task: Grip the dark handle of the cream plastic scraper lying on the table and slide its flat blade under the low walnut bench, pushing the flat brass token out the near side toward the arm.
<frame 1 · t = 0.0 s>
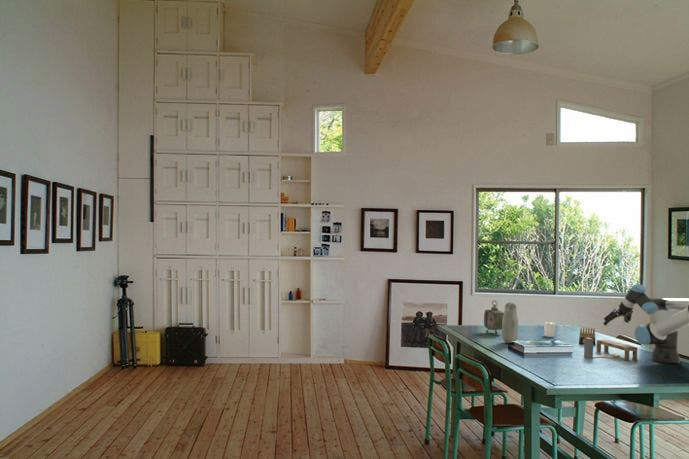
hand: (611, 327, 340), 15 cm above the table, tool tilted 35°, fingers open, 13 cm apart
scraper: (588, 357, 319), on the table
beige vase: (509, 343, 355), on the table
low bench: (616, 356, 325), on the table
tabletop clock: (494, 334, 389), on the table
ammunition clip: (587, 344, 360), on the table
brass token: (616, 356, 325), on the table
white cup: (549, 336, 387), on the table
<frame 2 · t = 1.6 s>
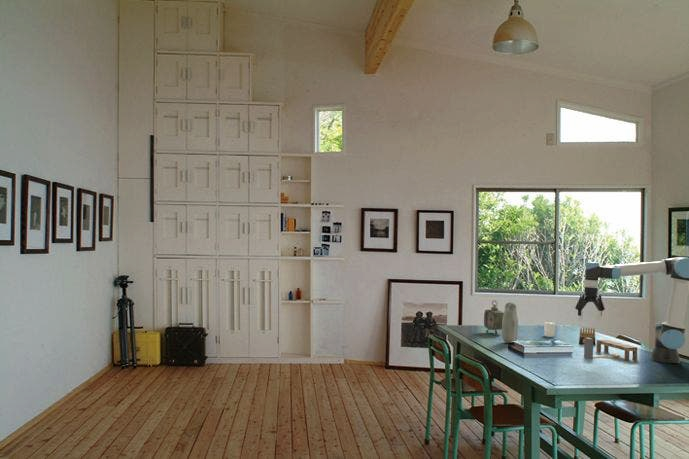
hand: (589, 321, 320), 22 cm above the table, tool pointing down, fingers open, 13 cm apart
nothing on the table moved.
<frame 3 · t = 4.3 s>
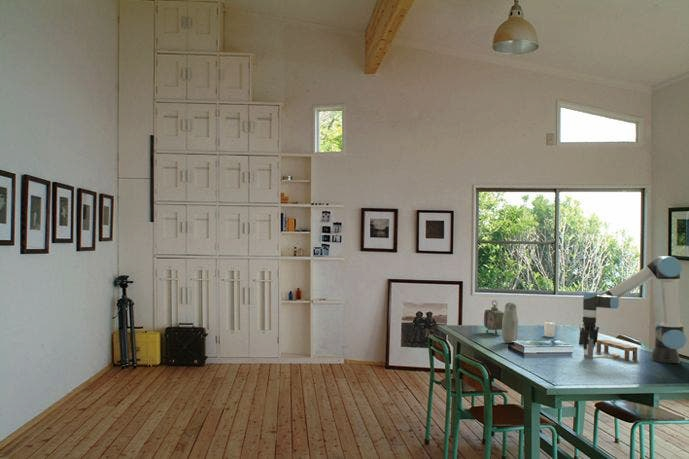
hand: (588, 354, 319), 2 cm above the table, tool pointing down, fingers closed on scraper, 3 cm apart
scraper: (588, 357, 319), on the table, touching gripper
everything else where it was.
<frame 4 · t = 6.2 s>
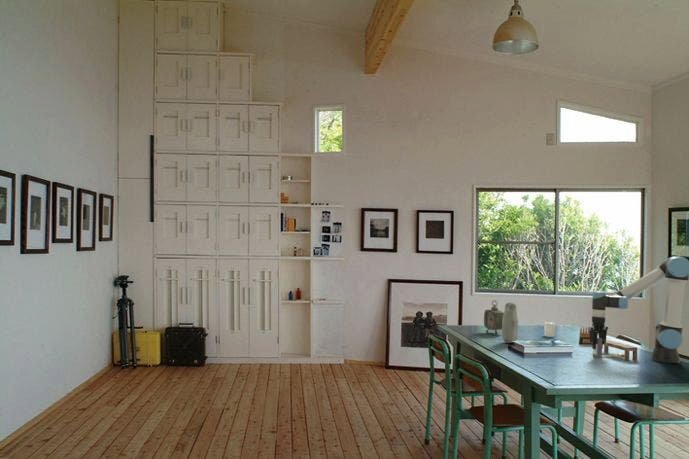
hand: (597, 353, 321), 2 cm above the table, tool pointing down, fingers closed on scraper, 3 cm apart
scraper: (597, 357, 321), on the table, touching gripper
brass token: (620, 356, 326), on the table
everything else where it was.
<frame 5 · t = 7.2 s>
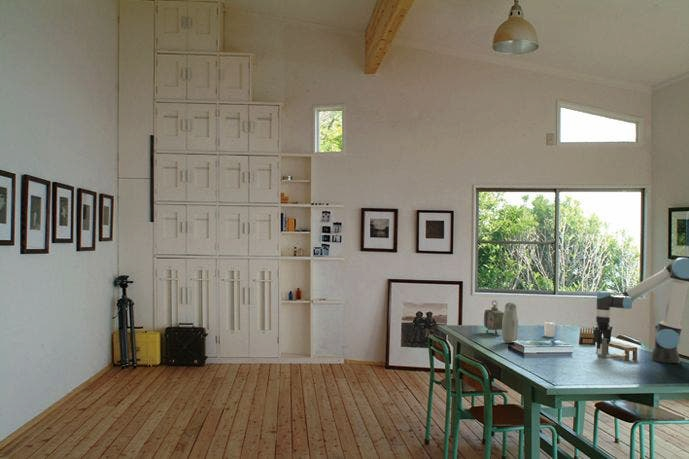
hand: (602, 353, 322), 2 cm above the table, tool pointing down, fingers closed on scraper, 3 cm apart
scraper: (601, 357, 322), on the table, touching gripper
brass token: (625, 356, 327), on the table
everything else where it was.
when the fingers open (2 cm above the table, at t = 8.1 s): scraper stays where it is, on the table.
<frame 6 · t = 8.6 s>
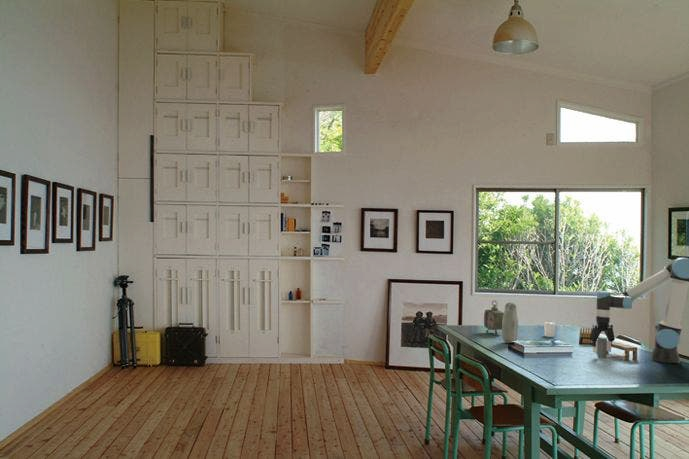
hand: (601, 351, 322), 3 cm above the table, tool pointing down, fingers open, 10 cm apart
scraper: (601, 357, 322), on the table
everything else where it was.
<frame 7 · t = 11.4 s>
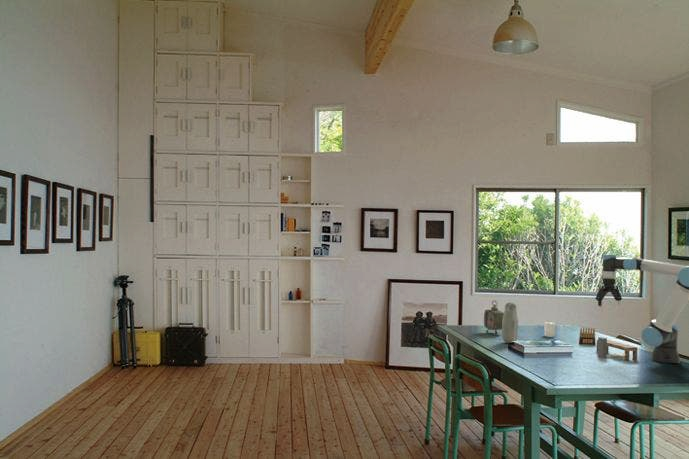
hand: (608, 310, 333), 27 cm above the table, tool pointing down, fingers open, 13 cm apart
nothing on the table moved.
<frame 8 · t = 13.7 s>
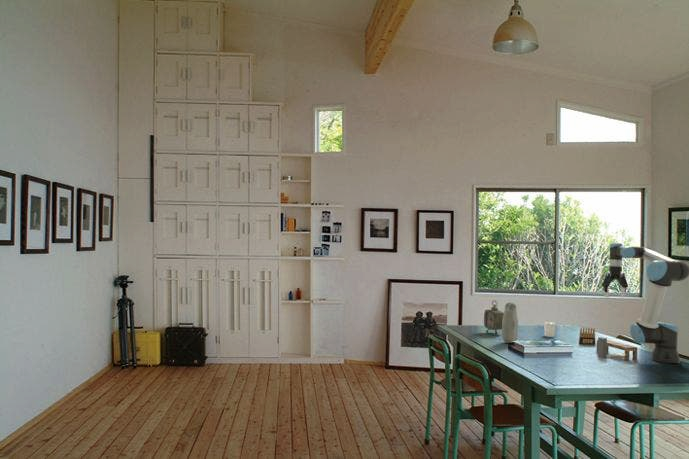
hand: (614, 297, 349), 35 cm above the table, tool pointing down, fingers open, 13 cm apart
nothing on the table moved.
at the end: brass token inside the target area (1.5 cm from its centre), on the table; brass token moved 7.5 cm from its start; the gripper is holding nothing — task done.
